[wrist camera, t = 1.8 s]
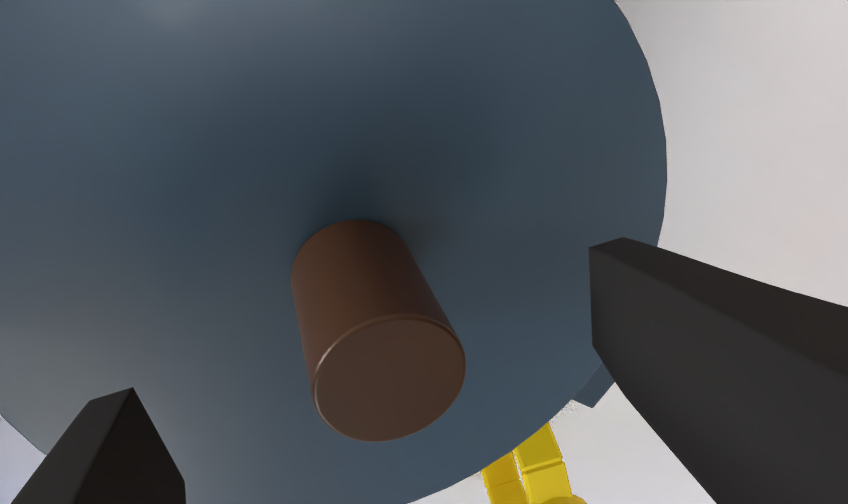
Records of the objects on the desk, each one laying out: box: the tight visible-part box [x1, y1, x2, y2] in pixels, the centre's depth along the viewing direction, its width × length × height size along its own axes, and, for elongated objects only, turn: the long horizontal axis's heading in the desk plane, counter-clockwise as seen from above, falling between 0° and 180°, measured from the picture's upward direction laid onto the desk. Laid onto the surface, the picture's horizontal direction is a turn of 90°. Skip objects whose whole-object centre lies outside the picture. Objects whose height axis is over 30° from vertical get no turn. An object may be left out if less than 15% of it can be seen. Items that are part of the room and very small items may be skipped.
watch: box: [481, 422, 587, 504], centre depth 22 cm, size 6×3×6 cm, turn 5°
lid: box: [0, 0, 667, 504], centre depth 11 cm, size 14×14×4 cm
